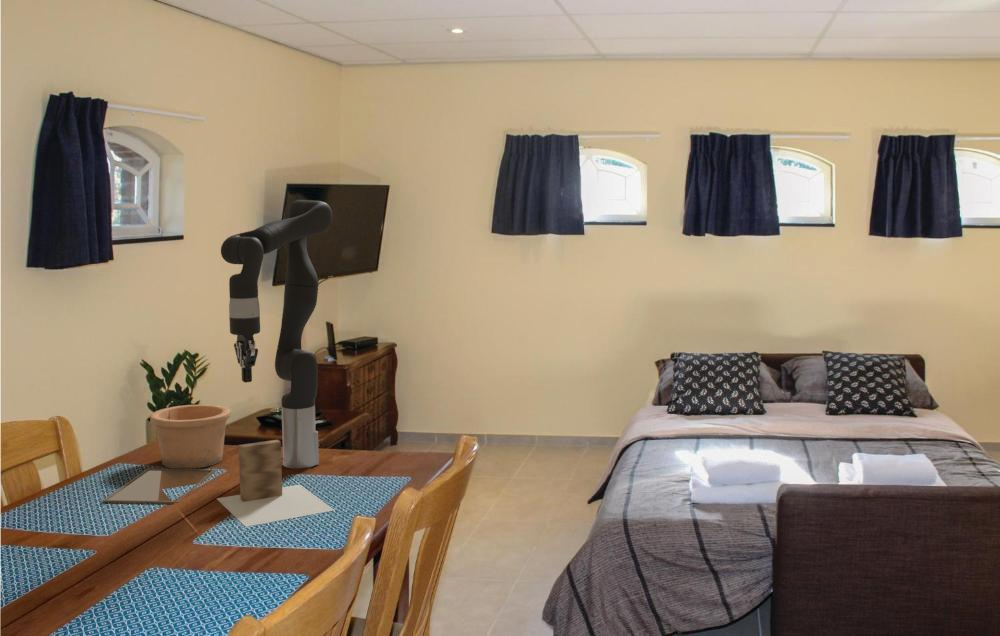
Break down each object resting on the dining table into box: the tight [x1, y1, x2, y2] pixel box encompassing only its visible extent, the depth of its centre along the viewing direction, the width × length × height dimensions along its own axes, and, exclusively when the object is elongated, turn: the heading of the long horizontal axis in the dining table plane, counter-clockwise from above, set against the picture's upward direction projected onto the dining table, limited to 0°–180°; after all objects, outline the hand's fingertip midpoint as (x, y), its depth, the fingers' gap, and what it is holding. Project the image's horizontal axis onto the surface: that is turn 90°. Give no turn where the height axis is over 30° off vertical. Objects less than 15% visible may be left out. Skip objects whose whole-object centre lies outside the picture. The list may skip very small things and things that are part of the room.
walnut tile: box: [238, 439, 283, 502], centre depth 240 cm, size 10×2×14 cm, turn 122°
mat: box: [216, 484, 335, 528], centre depth 235 cm, size 22×24×1 cm
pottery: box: [149, 403, 231, 470], centre depth 273 cm, size 22×22×14 cm
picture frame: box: [101, 468, 216, 505], centre depth 251 cm, size 19×1×28 cm
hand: (246, 381), depth 244 cm, fingers closed
